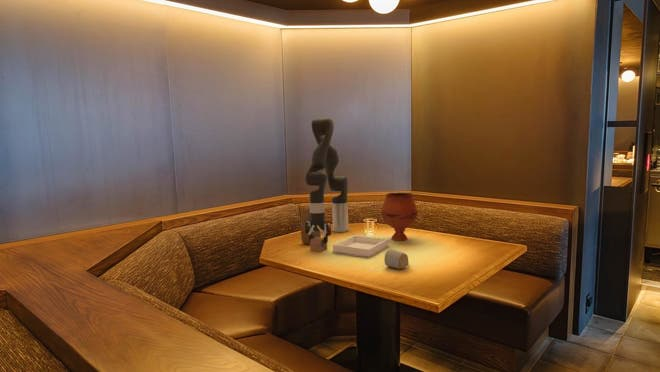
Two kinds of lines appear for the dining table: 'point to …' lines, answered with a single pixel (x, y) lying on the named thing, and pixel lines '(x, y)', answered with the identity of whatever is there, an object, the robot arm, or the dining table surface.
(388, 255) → the grey barrel
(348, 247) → the tray
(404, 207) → the goblet
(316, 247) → the cube
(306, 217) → the block
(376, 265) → the dining table surface
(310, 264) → the dining table surface
